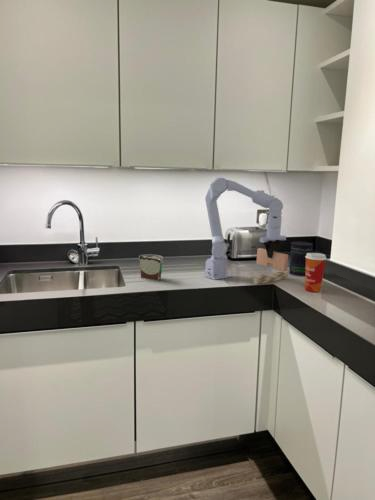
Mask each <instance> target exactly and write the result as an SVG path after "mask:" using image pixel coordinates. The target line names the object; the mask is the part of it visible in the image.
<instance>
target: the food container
mask: <svg viewBox="0 0 375 500" xmlns="http://www.w3.org/2000/svg"><path fill="white" fill-rule="evenodd" d="M138 261H139V271H140V272H139V273H140V279H145V280H149V281H155V282H160V281H161V279H162V268H163V264H164V262H165V261H164V257H163V256H162V255H159V254H151V253H150V254H149V253H147V254H139V256H138Z"/></svg>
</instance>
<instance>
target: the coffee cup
mask: <svg viewBox="0 0 375 500" xmlns="http://www.w3.org/2000/svg"><path fill="white" fill-rule="evenodd" d="M305 258H306V271H305V276H304V278H305V279H304V282H305V283H304V290H305V292H309V293H315V294H316V293H317V294H318V293H320V292H321V290H322V285H323V284H322V283H323V279H324V272H325V268H326V266H325V265H326V260H327V256H326V254H323V253H320V252H312V253H307V254H306V256H305Z"/></svg>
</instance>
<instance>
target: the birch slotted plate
mask: <svg viewBox="0 0 375 500" xmlns="http://www.w3.org/2000/svg"><path fill="white" fill-rule="evenodd" d="M252 279H253V281H252V283H253V284H254V285H260V284H261V285H262V284H266V283H271V282H276V281H280V280H287V279H289V271H288V270H287V271H278V272H272V273H271V274H269V273H266V274H260V275H255V276H253V278H252Z"/></svg>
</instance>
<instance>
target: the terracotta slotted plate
mask: <svg viewBox="0 0 375 500" xmlns="http://www.w3.org/2000/svg"><path fill="white" fill-rule="evenodd" d="M256 250H257V251H256V265H261V266H264V267H266V268H267V267H271V268H272V269H274V270H278V271H279V272H282V271H287V272H288V265H289V264H288V262H289V254H286V253H282V252H279V251H278V252H274V251H273V257H272V258H268V256H267V251H266V248H262V247H259V248H257V249H256Z"/></svg>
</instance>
